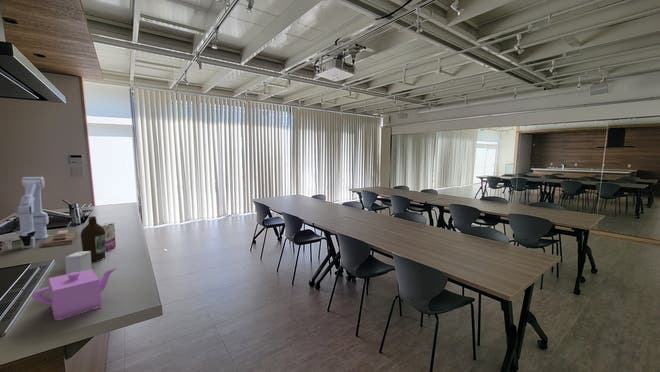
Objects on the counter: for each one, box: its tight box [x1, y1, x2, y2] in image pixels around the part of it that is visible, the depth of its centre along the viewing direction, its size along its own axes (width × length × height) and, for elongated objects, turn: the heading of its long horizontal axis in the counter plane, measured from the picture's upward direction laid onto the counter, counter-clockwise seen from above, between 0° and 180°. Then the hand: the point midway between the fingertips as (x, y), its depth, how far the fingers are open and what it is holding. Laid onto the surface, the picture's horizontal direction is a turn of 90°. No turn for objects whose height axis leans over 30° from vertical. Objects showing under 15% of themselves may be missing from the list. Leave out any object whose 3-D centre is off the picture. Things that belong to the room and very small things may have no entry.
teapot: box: [31, 267, 118, 321], centre depth 108 cm, size 15×25×14 cm, turn 140°
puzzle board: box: [41, 229, 78, 248], centre depth 188 cm, size 24×14×4 cm, turn 37°
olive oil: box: [80, 215, 107, 263], centre depth 155 cm, size 11×11×25 cm
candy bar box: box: [99, 222, 117, 251], centre depth 171 cm, size 11×5×16 cm, turn 179°
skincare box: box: [64, 250, 93, 275], centre depth 126 cm, size 8×6×15 cm
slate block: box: [20, 236, 36, 250], centre depth 174 cm, size 5×5×6 cm
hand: (28, 244), depth 174 cm, fingers open, 6 cm apart
